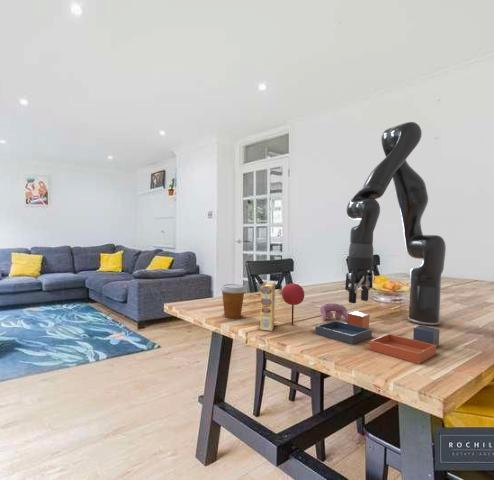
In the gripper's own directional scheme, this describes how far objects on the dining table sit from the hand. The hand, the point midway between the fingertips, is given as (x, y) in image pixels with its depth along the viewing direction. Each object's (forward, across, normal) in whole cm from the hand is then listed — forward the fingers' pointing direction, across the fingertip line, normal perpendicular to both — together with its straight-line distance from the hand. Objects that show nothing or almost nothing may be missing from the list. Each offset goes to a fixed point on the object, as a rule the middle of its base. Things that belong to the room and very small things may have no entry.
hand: (358, 301), depth 116 cm
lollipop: (+10, -17, +15) cm, 24 cm away
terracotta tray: (+9, -13, -19) cm, 24 cm away
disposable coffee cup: (+10, -27, +35) cm, 45 cm away
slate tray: (+10, -13, -2) cm, 16 cm away
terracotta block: (+9, 0, 0) cm, 9 cm away
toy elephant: (+10, +4, +11) cm, 15 cm away
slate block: (+9, 0, -20) cm, 22 cm away
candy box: (+10, -27, +18) cm, 34 cm away
